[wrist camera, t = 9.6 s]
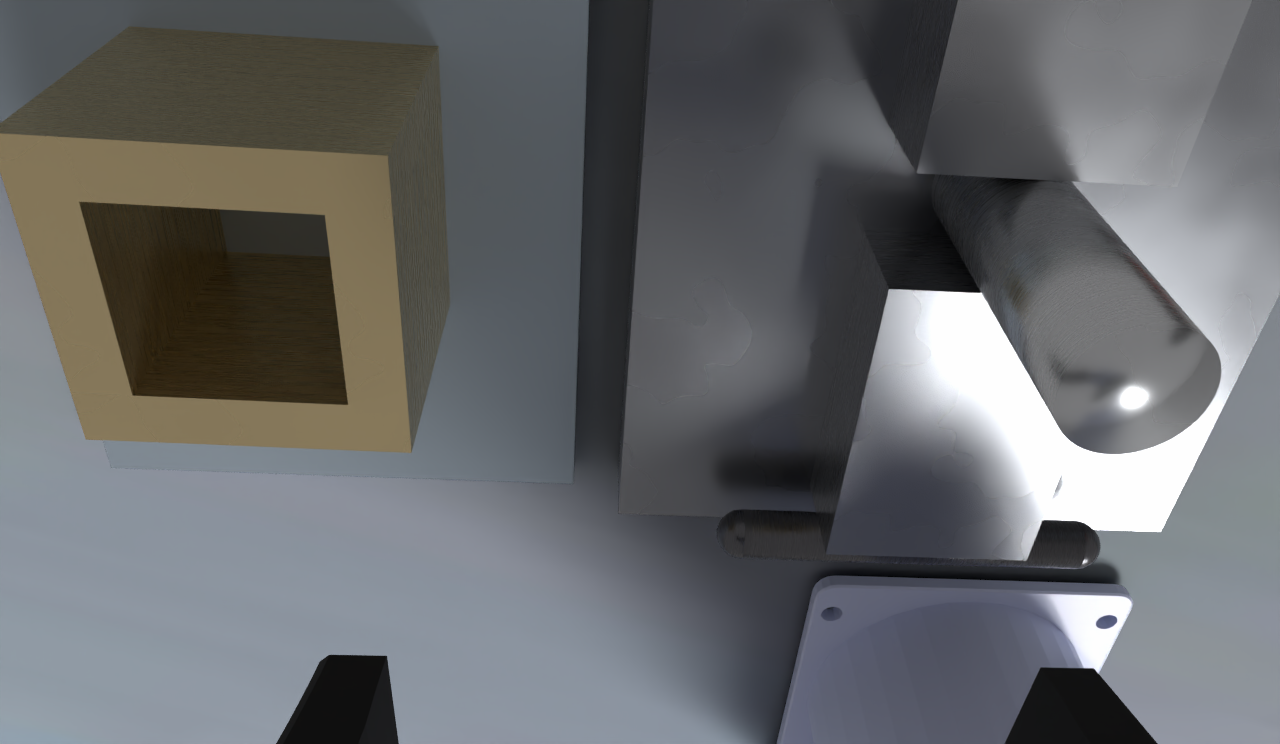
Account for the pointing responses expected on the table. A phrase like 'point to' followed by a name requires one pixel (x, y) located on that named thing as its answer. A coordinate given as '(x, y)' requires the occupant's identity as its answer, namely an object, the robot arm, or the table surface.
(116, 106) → the collar
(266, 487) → the table surface
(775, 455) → the vise
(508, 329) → the mat
